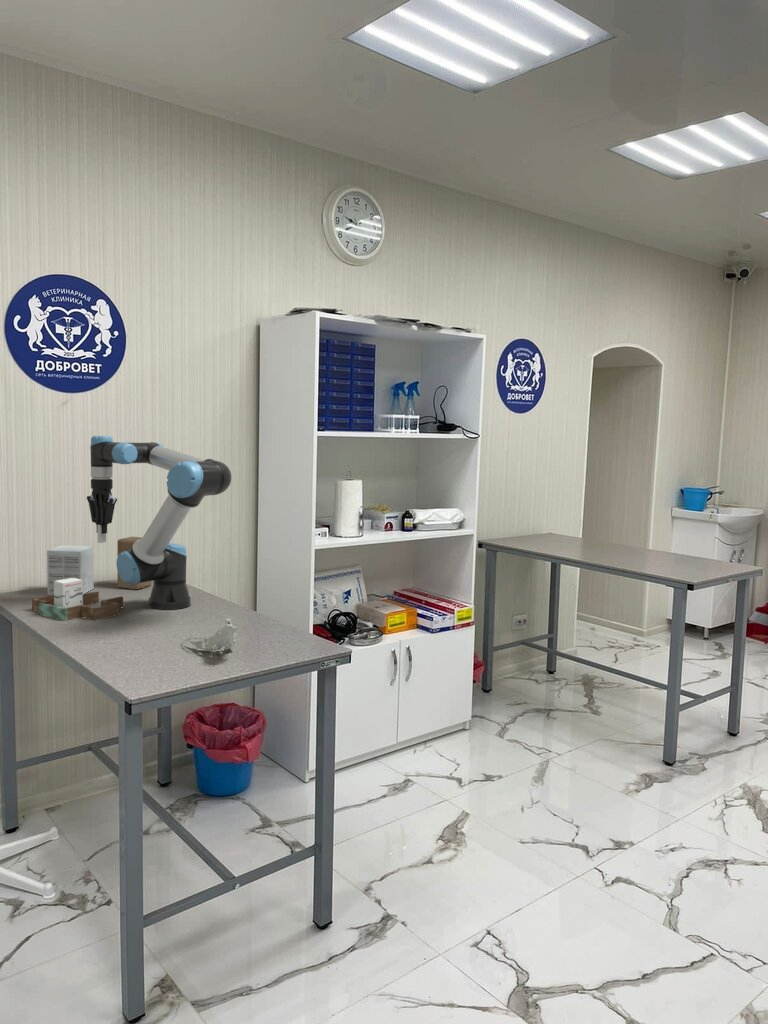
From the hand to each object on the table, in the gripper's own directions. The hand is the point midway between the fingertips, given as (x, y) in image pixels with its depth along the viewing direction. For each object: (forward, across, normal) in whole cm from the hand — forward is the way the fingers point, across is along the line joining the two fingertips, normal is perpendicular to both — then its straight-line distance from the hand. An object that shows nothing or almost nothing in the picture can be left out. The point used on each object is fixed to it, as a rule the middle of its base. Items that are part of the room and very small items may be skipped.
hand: (101, 542), depth 289 cm
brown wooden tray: (+23, -4, +13) cm, 27 cm away
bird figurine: (+23, -75, +27) cm, 83 cm away
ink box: (+23, -3, +18) cm, 30 cm away
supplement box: (+23, +22, -6) cm, 32 cm away
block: (+23, +10, -27) cm, 37 cm away
